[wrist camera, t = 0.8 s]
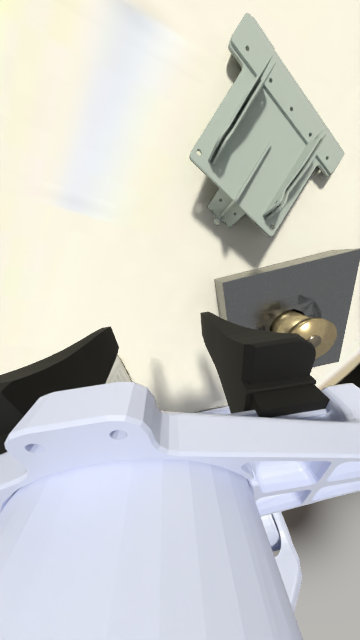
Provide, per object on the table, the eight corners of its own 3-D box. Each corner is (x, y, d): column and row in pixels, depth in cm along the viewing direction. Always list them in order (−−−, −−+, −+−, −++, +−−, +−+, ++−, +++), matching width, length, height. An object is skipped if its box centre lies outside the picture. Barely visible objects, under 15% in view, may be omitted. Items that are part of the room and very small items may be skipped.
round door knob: (290, 330, 24) (334, 356, 17) (257, 337, 24) (289, 365, 17) (291, 299, 22) (342, 315, 15) (256, 307, 22) (291, 326, 16)
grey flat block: (317, 348, 26) (338, 361, 23) (227, 369, 27) (235, 384, 23) (331, 250, 20) (362, 248, 17) (214, 279, 21) (222, 282, 17)
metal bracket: (295, 250, 15) (167, 121, 11) (254, 263, 20) (160, 181, 17) (373, 126, 15) (271, -47, 11) (310, 174, 20) (229, 71, 16)
